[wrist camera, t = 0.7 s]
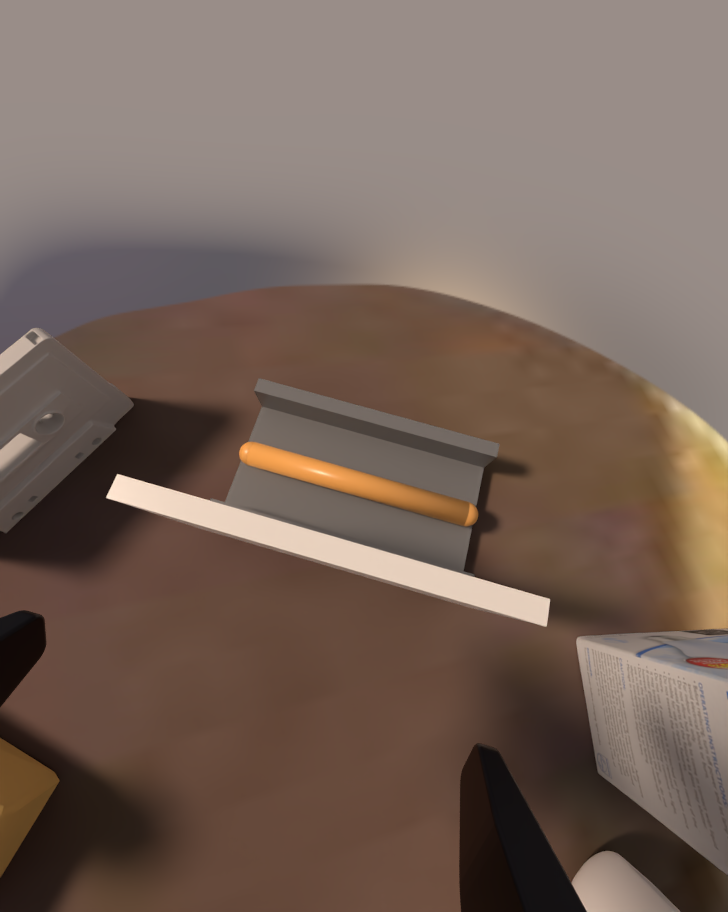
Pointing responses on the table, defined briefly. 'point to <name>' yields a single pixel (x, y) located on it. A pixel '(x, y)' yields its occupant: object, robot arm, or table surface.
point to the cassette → (48, 419)
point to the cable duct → (362, 475)
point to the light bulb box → (664, 727)
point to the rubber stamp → (20, 797)
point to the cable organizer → (617, 887)
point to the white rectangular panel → (331, 551)
